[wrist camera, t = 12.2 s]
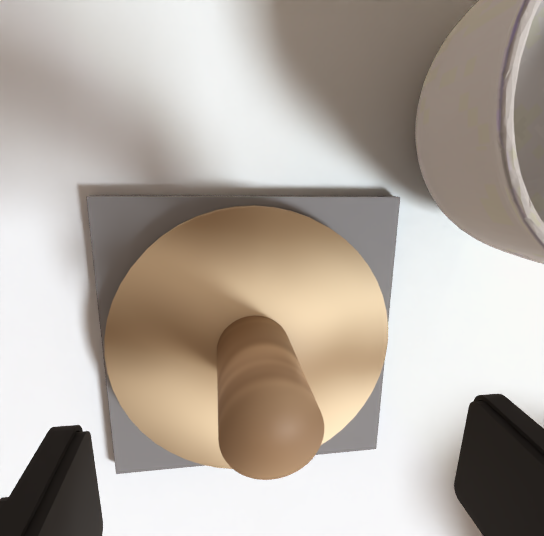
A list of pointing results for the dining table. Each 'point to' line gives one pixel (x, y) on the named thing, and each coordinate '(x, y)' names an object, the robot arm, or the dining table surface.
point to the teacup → (488, 126)
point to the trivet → (177, 209)
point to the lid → (246, 339)
